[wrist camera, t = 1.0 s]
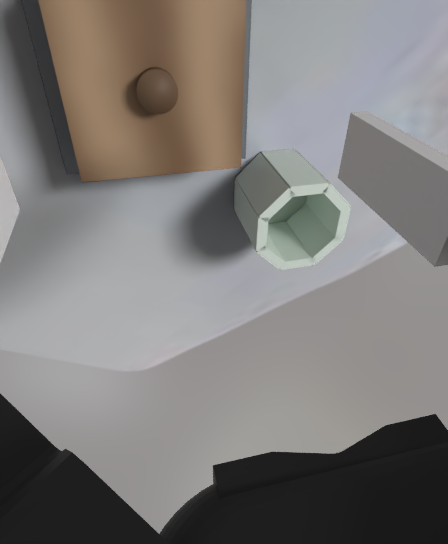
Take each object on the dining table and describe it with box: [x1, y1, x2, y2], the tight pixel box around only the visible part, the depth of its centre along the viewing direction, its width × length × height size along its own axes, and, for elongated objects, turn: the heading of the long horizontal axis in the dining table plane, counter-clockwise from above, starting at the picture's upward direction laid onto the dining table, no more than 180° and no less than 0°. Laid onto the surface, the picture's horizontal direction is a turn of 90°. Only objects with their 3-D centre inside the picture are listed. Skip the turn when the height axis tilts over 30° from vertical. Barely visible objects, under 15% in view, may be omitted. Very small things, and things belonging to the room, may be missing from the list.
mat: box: [21, 0, 252, 174], centre depth 27 cm, size 14×13×1 cm
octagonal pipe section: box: [234, 149, 351, 270], centre depth 32 cm, size 7×7×7 cm
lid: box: [38, 0, 246, 182], centre depth 25 cm, size 11×11×5 cm
